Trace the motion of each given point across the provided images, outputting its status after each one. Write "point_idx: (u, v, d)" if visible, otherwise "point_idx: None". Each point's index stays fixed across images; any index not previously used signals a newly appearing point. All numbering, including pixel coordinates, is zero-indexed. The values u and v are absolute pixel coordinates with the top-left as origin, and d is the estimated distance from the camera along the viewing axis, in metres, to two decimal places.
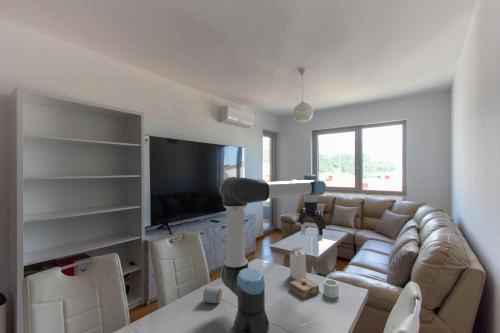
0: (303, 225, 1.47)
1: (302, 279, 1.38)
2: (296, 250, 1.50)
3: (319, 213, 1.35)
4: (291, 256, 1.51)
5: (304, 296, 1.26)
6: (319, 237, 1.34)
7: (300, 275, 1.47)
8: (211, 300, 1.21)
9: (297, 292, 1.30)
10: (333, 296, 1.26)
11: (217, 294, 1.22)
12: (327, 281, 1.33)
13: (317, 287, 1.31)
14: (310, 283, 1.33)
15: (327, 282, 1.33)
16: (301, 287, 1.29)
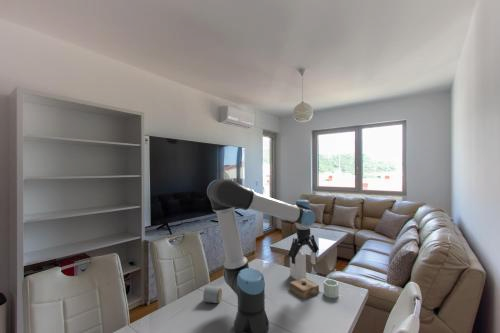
0: (312, 253, 1.37)
1: (302, 279, 1.38)
2: None
3: (294, 241, 1.30)
4: None
5: (304, 296, 1.26)
6: (293, 265, 1.31)
7: (300, 275, 1.47)
8: (211, 300, 1.22)
9: (297, 292, 1.30)
10: (333, 296, 1.26)
11: (217, 294, 1.22)
12: (327, 281, 1.33)
13: (317, 287, 1.31)
14: (310, 283, 1.33)
15: (327, 282, 1.33)
16: (301, 287, 1.29)
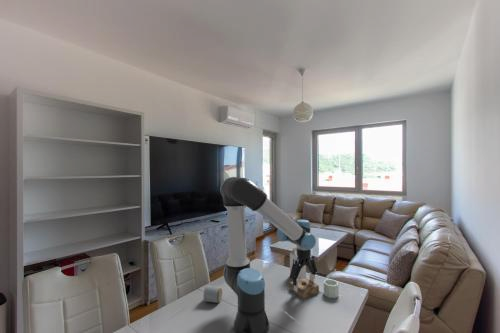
0: (311, 275, 1.36)
1: (302, 279, 1.38)
2: (296, 250, 1.50)
3: (294, 262, 1.30)
4: (291, 256, 1.51)
5: (304, 296, 1.26)
6: (294, 286, 1.31)
7: (300, 275, 1.47)
8: (211, 299, 1.22)
9: (297, 292, 1.30)
10: (333, 296, 1.26)
11: (217, 293, 1.22)
12: (327, 281, 1.33)
13: (317, 287, 1.31)
14: (310, 283, 1.33)
15: (327, 282, 1.33)
16: (301, 287, 1.29)
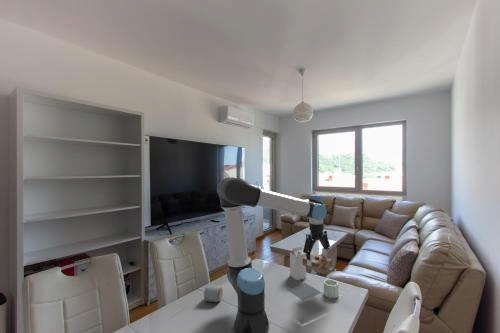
0: (323, 250, 1.35)
1: (314, 255, 1.37)
2: (296, 250, 1.50)
3: (307, 236, 1.28)
4: (291, 256, 1.51)
5: (318, 270, 1.25)
6: (307, 261, 1.29)
7: (300, 275, 1.47)
8: (212, 299, 1.23)
9: (311, 267, 1.28)
10: (333, 296, 1.26)
11: (218, 293, 1.23)
12: (327, 281, 1.33)
13: (330, 261, 1.30)
14: (324, 258, 1.32)
15: (327, 282, 1.33)
16: (315, 261, 1.28)
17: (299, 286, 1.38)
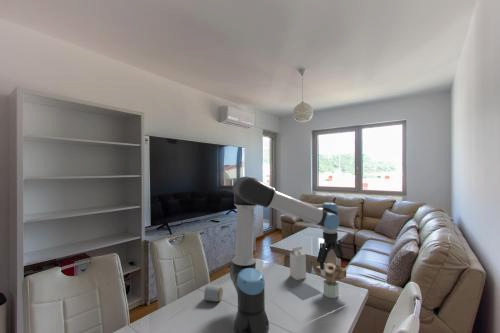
0: (337, 259, 1.33)
1: (328, 264, 1.35)
2: (296, 250, 1.50)
3: (321, 246, 1.26)
4: (291, 256, 1.51)
5: (332, 280, 1.23)
6: (321, 271, 1.27)
7: (300, 275, 1.47)
8: (212, 298, 1.23)
9: (324, 276, 1.27)
10: (333, 296, 1.26)
11: (218, 292, 1.23)
12: (327, 281, 1.33)
13: (345, 271, 1.28)
14: (337, 268, 1.30)
15: (327, 282, 1.33)
16: (329, 271, 1.26)
17: (299, 286, 1.38)
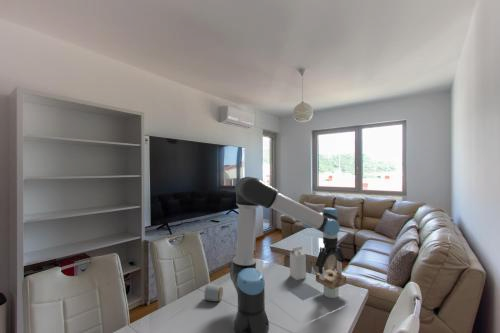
0: (338, 262, 1.33)
1: (328, 271, 1.35)
2: (296, 250, 1.50)
3: (321, 250, 1.26)
4: (291, 256, 1.51)
5: (332, 287, 1.23)
6: (320, 275, 1.27)
7: (300, 275, 1.47)
8: (212, 298, 1.23)
9: (324, 283, 1.26)
10: (333, 296, 1.26)
11: (218, 292, 1.24)
12: None
13: (345, 278, 1.28)
14: (337, 274, 1.30)
15: None
16: (328, 278, 1.26)
17: (299, 286, 1.38)
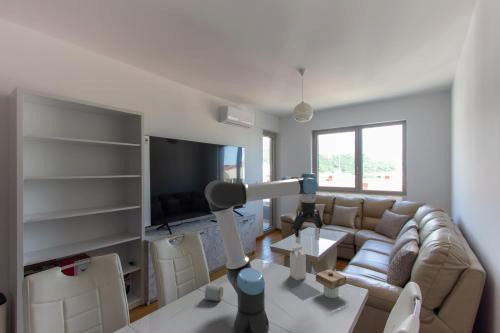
0: (316, 229, 1.33)
1: (328, 271, 1.35)
2: (296, 250, 1.50)
3: (298, 213, 1.27)
4: (291, 256, 1.51)
5: (332, 287, 1.23)
6: (296, 239, 1.27)
7: (300, 275, 1.47)
8: (213, 298, 1.24)
9: (324, 283, 1.26)
10: (333, 296, 1.26)
11: (218, 292, 1.24)
12: None
13: (345, 278, 1.28)
14: (337, 274, 1.30)
15: None
16: (328, 278, 1.26)
17: (299, 286, 1.38)
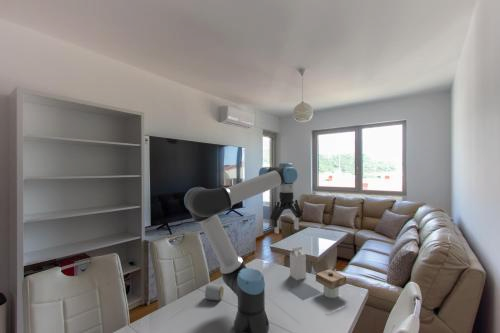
0: (295, 218, 1.33)
1: (328, 271, 1.35)
2: (296, 250, 1.50)
3: (276, 203, 1.27)
4: (291, 256, 1.51)
5: (332, 287, 1.23)
6: (275, 229, 1.27)
7: (300, 275, 1.47)
8: (213, 297, 1.24)
9: (324, 283, 1.26)
10: (333, 296, 1.26)
11: (219, 291, 1.24)
12: None
13: (345, 278, 1.28)
14: (337, 274, 1.30)
15: None
16: (328, 278, 1.26)
17: (299, 286, 1.38)
